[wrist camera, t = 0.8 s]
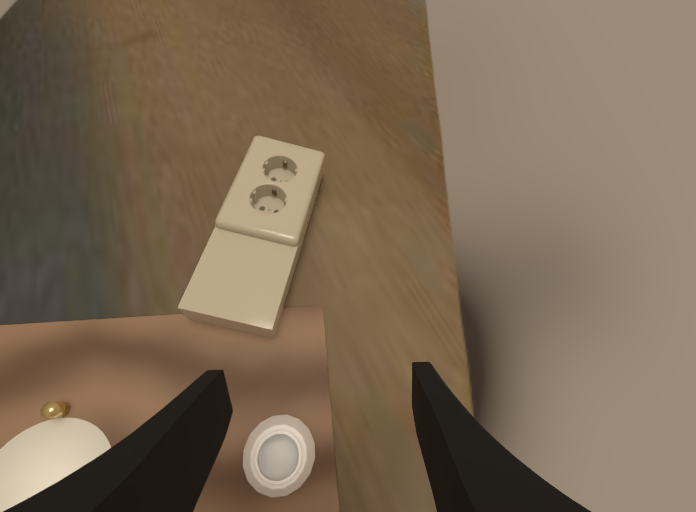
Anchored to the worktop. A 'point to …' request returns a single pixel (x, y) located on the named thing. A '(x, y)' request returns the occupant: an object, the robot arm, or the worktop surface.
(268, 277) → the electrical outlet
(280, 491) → the lidless jar
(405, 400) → the worktop surface
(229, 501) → the wooden board
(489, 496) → the robot arm
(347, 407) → the worktop surface
